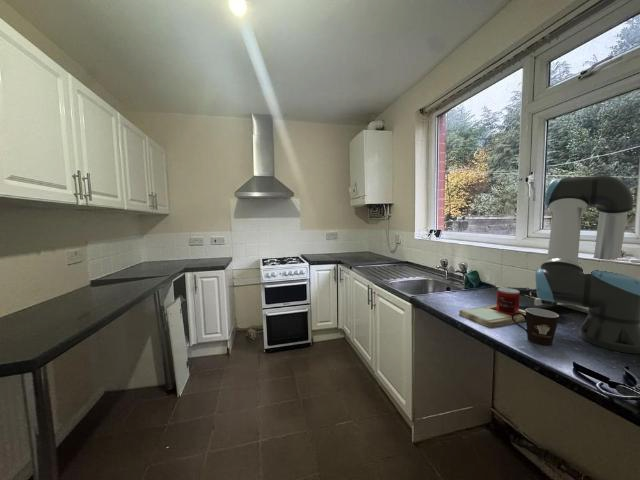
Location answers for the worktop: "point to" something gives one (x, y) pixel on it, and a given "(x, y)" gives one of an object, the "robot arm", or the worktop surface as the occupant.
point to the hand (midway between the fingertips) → (517, 297)
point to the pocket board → (491, 316)
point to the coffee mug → (539, 325)
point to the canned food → (508, 301)
